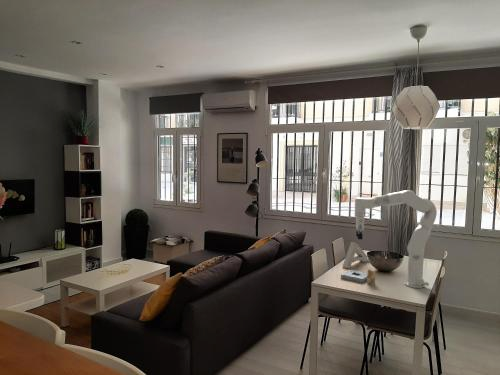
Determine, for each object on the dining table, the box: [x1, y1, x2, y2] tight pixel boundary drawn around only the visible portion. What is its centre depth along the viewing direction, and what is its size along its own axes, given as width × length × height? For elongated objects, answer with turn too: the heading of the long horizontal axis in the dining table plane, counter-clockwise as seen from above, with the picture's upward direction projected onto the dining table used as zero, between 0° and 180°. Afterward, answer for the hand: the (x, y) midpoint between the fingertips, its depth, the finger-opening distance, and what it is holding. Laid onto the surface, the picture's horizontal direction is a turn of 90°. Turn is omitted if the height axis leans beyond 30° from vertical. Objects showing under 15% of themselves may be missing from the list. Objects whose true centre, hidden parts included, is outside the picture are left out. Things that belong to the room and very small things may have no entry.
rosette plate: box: [340, 269, 368, 284], centre depth 281 cm, size 16×16×3 cm
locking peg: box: [366, 268, 376, 286], centre depth 269 cm, size 4×4×10 cm
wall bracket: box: [342, 241, 369, 270], centre depth 318 cm, size 22×4×30 cm
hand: (359, 237), depth 285 cm, fingers open, 9 cm apart
